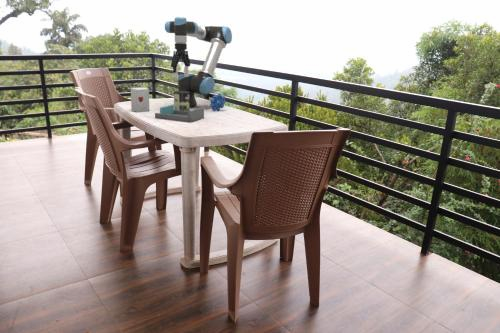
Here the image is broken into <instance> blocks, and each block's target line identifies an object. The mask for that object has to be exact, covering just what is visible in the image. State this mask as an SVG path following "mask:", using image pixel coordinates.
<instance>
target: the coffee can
mask: <svg viewBox="0 0 500 333" xmlns="http://www.w3.org/2000/svg"><path fill="white" fill-rule="evenodd" d="M173 105H174V110H181V111H190V108H189V91H178V90H174V91H173Z"/></svg>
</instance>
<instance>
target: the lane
mask: <svg viewBox="0 0 500 333" xmlns="http://www.w3.org/2000/svg"><path fill="white" fill-rule="evenodd" d="M154 118H155V119H159V120H167V121H175V122H185V123H194V122H197V121H199V120H202V119H204V118H205V107H204V106H203V107H198V108H195V109H192V110H189V111H181V110H174V114H172V115H170V114H162V113H160V112H155V113H154Z"/></svg>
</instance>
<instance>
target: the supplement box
mask: <svg viewBox="0 0 500 333" xmlns="http://www.w3.org/2000/svg"><path fill="white" fill-rule="evenodd" d="M130 99H131V100H130V103H131V105H130V106H131V111H133V112H137V113H142V112H150V88H147V87H130Z"/></svg>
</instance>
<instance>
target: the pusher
mask: <svg viewBox="0 0 500 333" xmlns="http://www.w3.org/2000/svg"><path fill="white" fill-rule="evenodd" d="M159 111H160V112H159V113H162V114H170V115H172V114H174V104H169V105H165V106H161V107H159Z"/></svg>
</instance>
